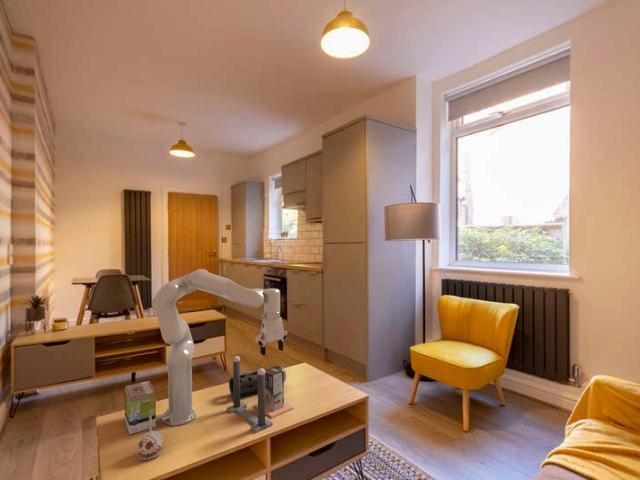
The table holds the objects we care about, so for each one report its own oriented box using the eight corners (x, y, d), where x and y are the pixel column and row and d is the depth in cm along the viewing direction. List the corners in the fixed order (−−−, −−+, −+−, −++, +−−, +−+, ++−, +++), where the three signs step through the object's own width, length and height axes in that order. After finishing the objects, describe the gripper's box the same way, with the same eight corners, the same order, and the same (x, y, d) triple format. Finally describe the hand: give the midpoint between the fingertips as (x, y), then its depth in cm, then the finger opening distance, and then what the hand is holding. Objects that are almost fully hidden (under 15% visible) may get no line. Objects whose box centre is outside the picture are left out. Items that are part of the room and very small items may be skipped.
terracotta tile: (271, 418, 143) (271, 416, 143) (253, 406, 154) (253, 404, 154) (293, 408, 151) (293, 407, 152) (274, 397, 163) (274, 396, 163)
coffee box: (284, 406, 152) (284, 371, 152) (273, 411, 147) (273, 375, 148) (272, 400, 158) (272, 366, 159) (261, 404, 154) (261, 370, 154)
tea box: (156, 426, 138) (156, 391, 138) (129, 435, 132) (129, 398, 132) (149, 412, 150) (149, 379, 150) (124, 419, 144) (123, 385, 144)
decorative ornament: (133, 460, 116) (132, 417, 116) (148, 447, 124) (147, 406, 124) (153, 462, 115) (152, 419, 115) (166, 449, 123) (166, 408, 123)
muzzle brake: (228, 394, 167) (228, 374, 167) (278, 381, 182) (278, 362, 182) (235, 402, 159) (235, 380, 159) (286, 387, 174) (286, 367, 175)
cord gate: (255, 433, 132) (255, 372, 133) (226, 410, 151) (226, 357, 151) (272, 425, 138) (272, 367, 138) (242, 404, 156) (242, 353, 156)
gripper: (260, 319, 145) (260, 358, 145) (291, 314, 157) (291, 350, 157) (251, 316, 151) (251, 354, 150) (282, 311, 162) (282, 346, 162)
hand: (272, 352), depth 153 cm, fingers open, 9 cm apart
